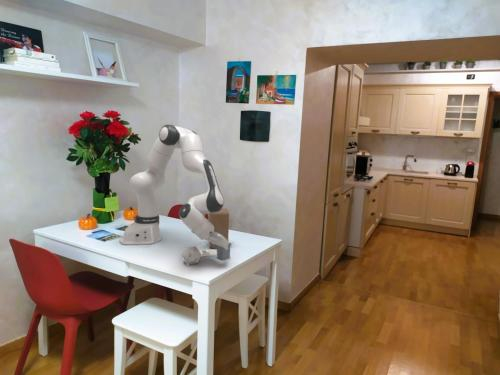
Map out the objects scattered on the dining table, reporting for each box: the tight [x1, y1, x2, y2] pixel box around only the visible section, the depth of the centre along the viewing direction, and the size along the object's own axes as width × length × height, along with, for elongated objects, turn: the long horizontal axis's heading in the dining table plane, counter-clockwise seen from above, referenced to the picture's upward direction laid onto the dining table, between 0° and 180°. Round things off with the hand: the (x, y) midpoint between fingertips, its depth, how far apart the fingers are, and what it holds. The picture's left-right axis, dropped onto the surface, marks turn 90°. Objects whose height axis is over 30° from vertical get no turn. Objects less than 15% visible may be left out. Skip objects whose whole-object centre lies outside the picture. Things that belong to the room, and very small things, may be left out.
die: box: [181, 245, 201, 265], centre depth 176 cm, size 8×9×10 cm
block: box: [208, 208, 230, 249], centre depth 201 cm, size 10×10×20 cm
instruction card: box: [199, 248, 217, 258], centre depth 190 cm, size 12×8×1 cm, turn 112°
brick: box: [216, 242, 231, 261], centre depth 184 cm, size 5×5×8 cm
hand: (220, 245), depth 182 cm, fingers open, 8 cm apart
